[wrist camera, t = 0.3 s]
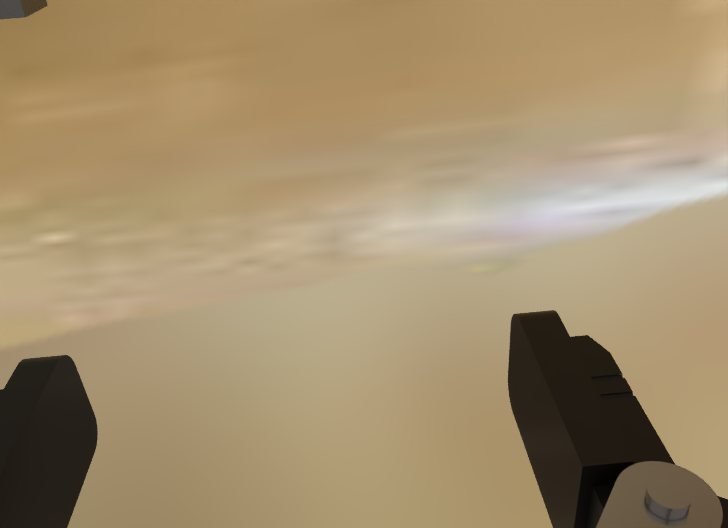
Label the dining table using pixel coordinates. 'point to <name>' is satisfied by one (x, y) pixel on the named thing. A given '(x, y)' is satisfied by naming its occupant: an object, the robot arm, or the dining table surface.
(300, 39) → the dining table surface
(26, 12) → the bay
